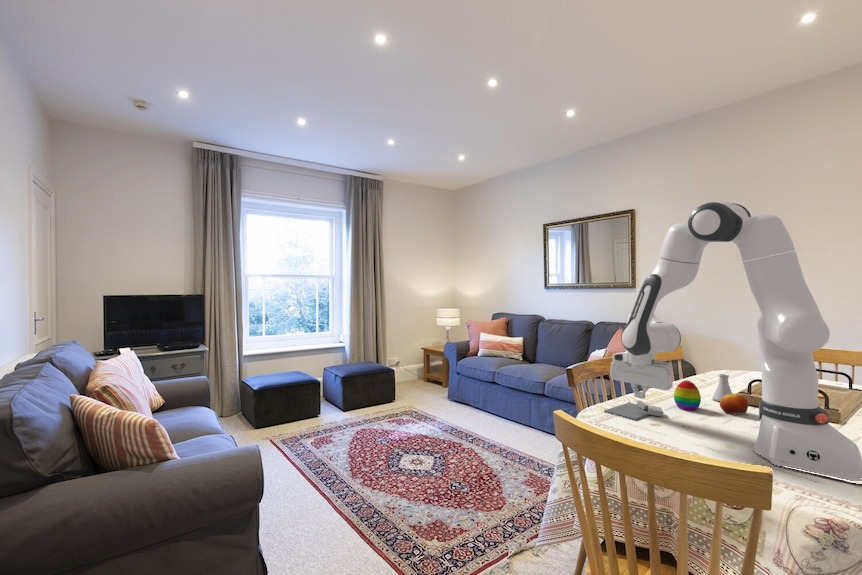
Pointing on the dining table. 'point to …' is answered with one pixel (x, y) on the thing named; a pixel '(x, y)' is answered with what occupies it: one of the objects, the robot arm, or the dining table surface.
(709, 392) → the dining table surface
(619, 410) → the mat
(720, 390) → the flask
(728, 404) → the fruit
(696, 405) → the decorative egg
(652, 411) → the lighter
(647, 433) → the dining table surface
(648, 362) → the robot arm
